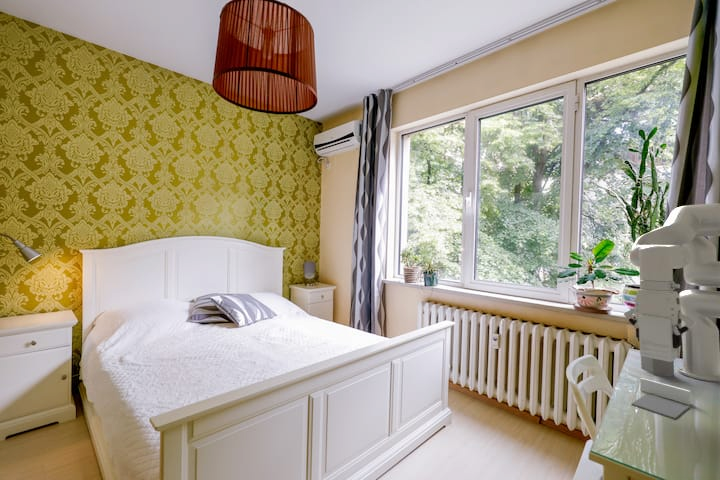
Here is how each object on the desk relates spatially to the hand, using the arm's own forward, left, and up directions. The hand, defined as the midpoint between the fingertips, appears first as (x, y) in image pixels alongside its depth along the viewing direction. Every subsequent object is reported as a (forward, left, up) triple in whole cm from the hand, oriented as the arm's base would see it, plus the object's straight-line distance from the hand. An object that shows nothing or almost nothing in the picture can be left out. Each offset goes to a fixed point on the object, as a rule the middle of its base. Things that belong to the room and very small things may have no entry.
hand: (658, 343), depth 99 cm
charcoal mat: (0, 0, -19) cm, 19 cm away
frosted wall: (-9, -1, -19) cm, 21 cm away
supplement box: (0, 0, -4) cm, 4 cm away
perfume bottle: (-33, -10, -19) cm, 39 cm away
